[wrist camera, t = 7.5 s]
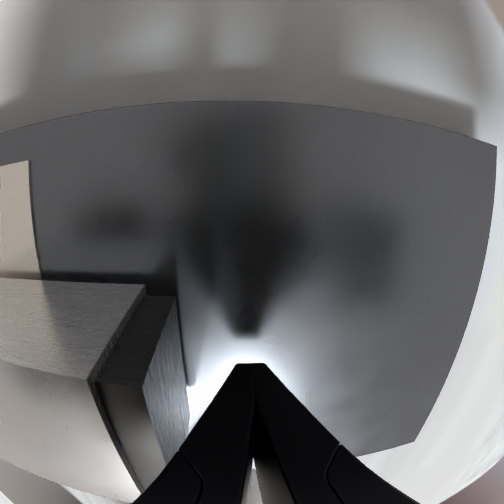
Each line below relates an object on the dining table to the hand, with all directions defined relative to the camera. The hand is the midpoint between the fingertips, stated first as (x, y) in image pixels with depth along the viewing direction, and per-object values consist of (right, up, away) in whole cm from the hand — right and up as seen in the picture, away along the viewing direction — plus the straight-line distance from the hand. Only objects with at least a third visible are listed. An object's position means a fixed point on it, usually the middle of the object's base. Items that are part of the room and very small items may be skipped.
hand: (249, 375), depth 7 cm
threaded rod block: (-7, 0, 0) cm, 7 cm away
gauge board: (-7, +1, +2) cm, 7 cm away
